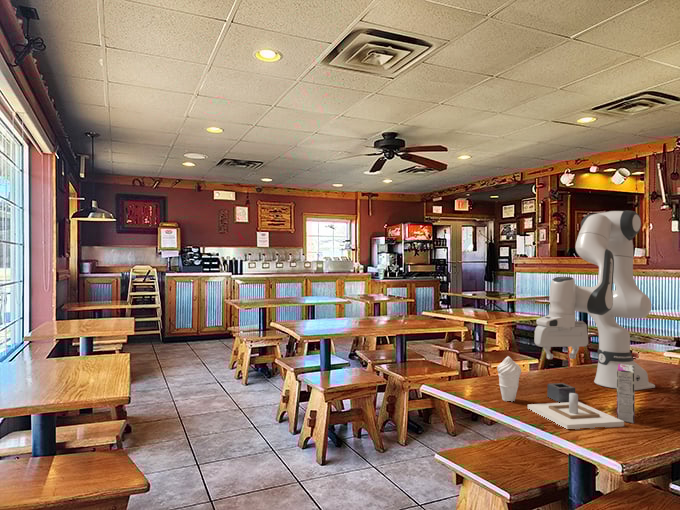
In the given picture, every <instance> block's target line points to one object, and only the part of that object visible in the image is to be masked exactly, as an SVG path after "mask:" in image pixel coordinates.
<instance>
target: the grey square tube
mask: <svg viewBox="0 0 680 510" xmlns="http://www.w3.org/2000/svg"><path fill="white" fill-rule="evenodd" d="M569 393H576V387H574V386H571V385H569V384H567V383H564V382H559V383H557V382H556V383H547V393H546V394H547V395H546V396H547V398H548V397H549V398H548V399H550V398H551V399H550V400H552V399H553V401H555V402H557V401H558V402H557V403H559V402H560V403H565V402H569Z"/></svg>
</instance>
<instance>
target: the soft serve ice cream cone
mask: <svg viewBox="0 0 680 510" xmlns="http://www.w3.org/2000/svg"><path fill="white" fill-rule="evenodd" d="M496 370H497V373H498V379H499V380H498V381H499V383H498V386H499V388H500V394H501V399H502V401H504V402H507V401H511V402H510V403H513V401H514V402H515V401H516V397H517V392H518V389H519V382H520V376H521V374H522V368H521V367H520V365H519V364H518V363H516V361H514V360H513V359H512V358H511V357H510V356H509V355H507V356H506V357H505V358H504V359H503V360H502V362H500V363H499V364H498V365H497V368H496Z"/></svg>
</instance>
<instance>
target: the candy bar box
mask: <svg viewBox="0 0 680 510" xmlns="http://www.w3.org/2000/svg"><path fill="white" fill-rule="evenodd" d="M635 391H636V390H635V372H634V365H627V364H618V368H617V388H616V418H617V419H620V420H622V421H624V423H628V424H629V423H630V424H635V408H636V405H635V402H636V401H635V397H636V396H635V393H636V392H635Z"/></svg>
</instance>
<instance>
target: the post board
mask: <svg viewBox="0 0 680 510" xmlns="http://www.w3.org/2000/svg"><path fill="white" fill-rule="evenodd" d="M527 409H528V410H529V409H530V410H529V411H531V410H532V411H531V412H533V413H534V412H535V414H536V413H537V414H536V415H538V414H539V415H538V416H540V415H541V416H540V417H542V416H543V417H542V418H544V417H545V418H544V419H546V418H547V419H546V420H548V419H549V420H551V421H553V422H555V423H556V424H555V423H554V424H555V425H557V424H558V425H557V426H559V425H560V426H559V427H561V426H562V427H564V428H566V429H575V430H581V429H580V428H590V429H596V428H595V427H605V428H617V427H625V422H624V421H622V420H620V419H617V417H616V416H613V415H611V414H608V413H606V412H604V411H600V410H598V409H596V408H594V407H592V406H590V405H587V404H585V403H583V402H581V401H579V394H578V393H576V392H575V393H569V402H560V403H559V402H547V403H534V404H533V403H531V404H527ZM549 420H548V421H549ZM551 421H550V422H551ZM553 422H552V423H553ZM562 427H561V428H562ZM564 428H563V429H564ZM566 429H565V430H566Z"/></svg>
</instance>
